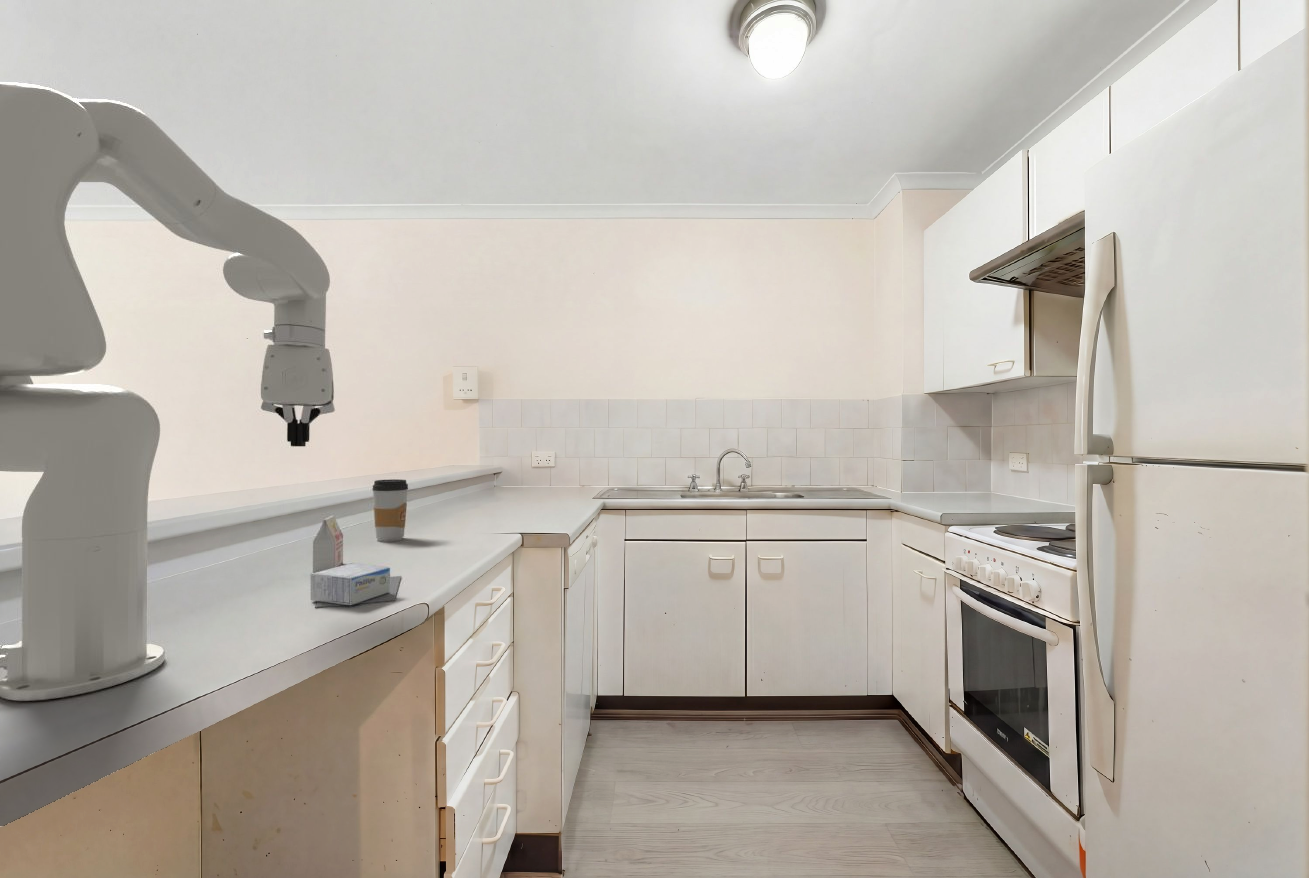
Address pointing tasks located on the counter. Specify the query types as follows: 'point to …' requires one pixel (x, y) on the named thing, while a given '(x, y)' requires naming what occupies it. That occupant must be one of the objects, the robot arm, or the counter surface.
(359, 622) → the counter surface
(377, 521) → the coffee cup
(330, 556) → the small milk carton
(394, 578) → the mat
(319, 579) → the medicine box
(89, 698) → the counter surface
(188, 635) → the counter surface
